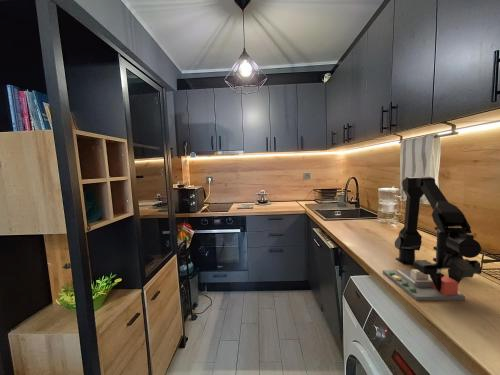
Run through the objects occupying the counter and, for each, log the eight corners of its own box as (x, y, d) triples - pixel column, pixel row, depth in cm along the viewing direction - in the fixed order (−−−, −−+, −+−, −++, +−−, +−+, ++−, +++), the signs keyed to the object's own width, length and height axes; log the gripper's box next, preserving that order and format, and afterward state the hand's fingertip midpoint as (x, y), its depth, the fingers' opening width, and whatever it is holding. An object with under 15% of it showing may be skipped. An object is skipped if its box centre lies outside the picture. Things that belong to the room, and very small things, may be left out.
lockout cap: (433, 288, 82) (434, 276, 81) (446, 287, 82) (447, 276, 81) (444, 295, 77) (444, 282, 77) (457, 294, 77) (458, 282, 77)
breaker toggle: (410, 279, 88) (410, 269, 88) (422, 279, 88) (422, 269, 88) (416, 283, 85) (416, 272, 85) (428, 283, 85) (428, 272, 85)
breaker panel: (382, 273, 97) (382, 265, 97) (421, 272, 97) (421, 264, 96) (416, 300, 77) (416, 291, 77) (464, 299, 77) (465, 290, 76)
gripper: (438, 256, 70) (436, 304, 72) (500, 254, 70) (497, 303, 71) (413, 244, 81) (411, 286, 83) (467, 242, 81) (464, 285, 82)
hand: (445, 290), depth 80 cm, fingers closed on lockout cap, 4 cm apart
